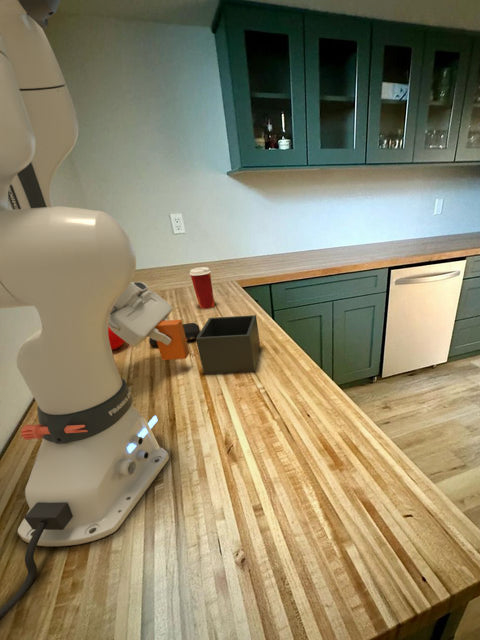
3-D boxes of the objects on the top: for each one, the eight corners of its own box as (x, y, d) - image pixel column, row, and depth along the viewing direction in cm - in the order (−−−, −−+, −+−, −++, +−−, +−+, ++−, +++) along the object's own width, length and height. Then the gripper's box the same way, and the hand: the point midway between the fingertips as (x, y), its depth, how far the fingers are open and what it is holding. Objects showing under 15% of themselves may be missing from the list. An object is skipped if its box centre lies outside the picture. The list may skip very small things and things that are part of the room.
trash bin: (254, 371, 82) (249, 335, 77) (203, 374, 83) (195, 338, 78) (260, 347, 94) (256, 315, 89) (215, 350, 94) (209, 317, 90)
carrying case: (150, 351, 96) (202, 341, 100) (147, 341, 95) (200, 332, 99) (151, 337, 105) (199, 329, 109) (148, 328, 104) (197, 320, 108)
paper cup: (221, 304, 130) (214, 267, 123) (206, 310, 125) (198, 272, 118) (207, 302, 134) (199, 266, 127) (192, 308, 129) (183, 270, 122)
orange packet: (186, 358, 83) (177, 324, 78) (162, 360, 83) (151, 325, 78) (189, 353, 85) (181, 319, 81) (166, 354, 86) (156, 320, 81)
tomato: (109, 340, 105) (97, 310, 100) (138, 341, 103) (128, 310, 98) (84, 355, 97) (70, 323, 92) (115, 357, 94) (103, 323, 89)
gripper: (104, 305, 67) (165, 347, 71) (145, 280, 85) (192, 315, 89) (91, 327, 69) (150, 367, 74) (133, 298, 87) (179, 331, 92)
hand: (173, 338), depth 82 cm, fingers closed on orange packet, 3 cm apart
